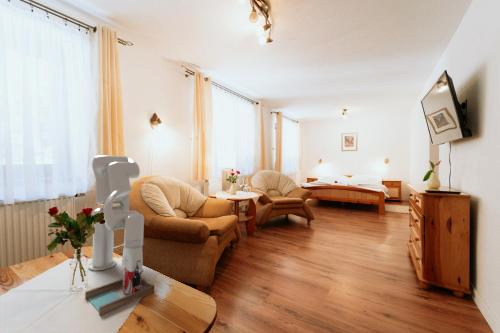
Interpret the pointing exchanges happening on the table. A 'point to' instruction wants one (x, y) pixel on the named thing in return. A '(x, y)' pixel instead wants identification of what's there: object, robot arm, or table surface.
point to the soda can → (129, 282)
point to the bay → (121, 301)
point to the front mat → (103, 299)
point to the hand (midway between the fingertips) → (132, 282)
